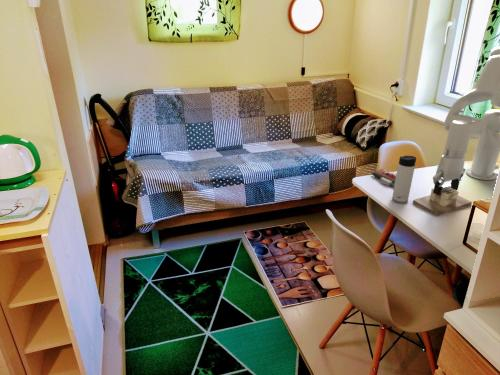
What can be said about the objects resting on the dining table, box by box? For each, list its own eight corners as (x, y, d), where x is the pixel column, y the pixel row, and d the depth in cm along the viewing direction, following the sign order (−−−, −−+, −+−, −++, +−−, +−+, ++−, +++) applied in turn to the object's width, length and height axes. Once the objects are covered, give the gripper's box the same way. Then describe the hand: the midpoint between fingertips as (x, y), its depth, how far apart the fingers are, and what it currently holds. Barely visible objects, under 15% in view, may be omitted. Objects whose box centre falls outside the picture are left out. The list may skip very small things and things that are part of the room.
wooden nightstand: (441, 195, 161) (444, 184, 159) (455, 202, 156) (458, 191, 154) (429, 199, 159) (432, 187, 156) (443, 206, 153) (446, 194, 151)
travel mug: (400, 205, 157) (408, 160, 148) (388, 198, 162) (396, 154, 154) (411, 202, 159) (420, 158, 150) (400, 195, 165) (408, 152, 156)
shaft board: (446, 193, 167) (450, 175, 163) (471, 205, 157) (476, 186, 153) (412, 203, 159) (416, 184, 155) (436, 216, 149) (441, 197, 145)
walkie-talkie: (368, 177, 183) (402, 193, 167) (369, 168, 181) (404, 184, 165) (381, 173, 187) (415, 189, 171) (382, 165, 185) (417, 180, 169)
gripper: (461, 145, 154) (452, 183, 162) (430, 153, 148) (422, 192, 155) (478, 151, 148) (467, 190, 156) (447, 159, 142) (437, 200, 149)
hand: (445, 191), depth 156 cm, fingers open, 9 cm apart
